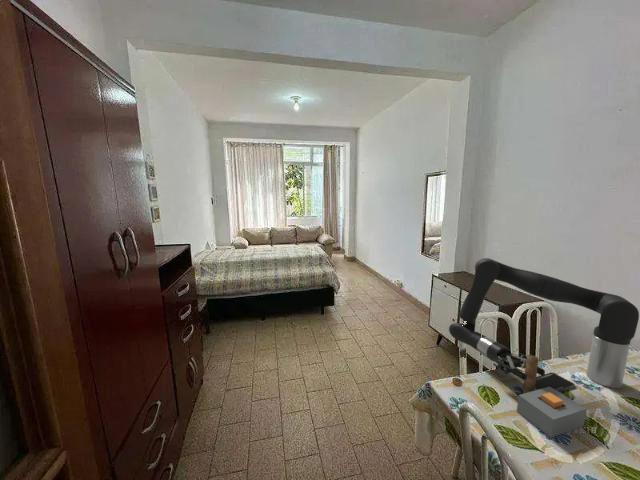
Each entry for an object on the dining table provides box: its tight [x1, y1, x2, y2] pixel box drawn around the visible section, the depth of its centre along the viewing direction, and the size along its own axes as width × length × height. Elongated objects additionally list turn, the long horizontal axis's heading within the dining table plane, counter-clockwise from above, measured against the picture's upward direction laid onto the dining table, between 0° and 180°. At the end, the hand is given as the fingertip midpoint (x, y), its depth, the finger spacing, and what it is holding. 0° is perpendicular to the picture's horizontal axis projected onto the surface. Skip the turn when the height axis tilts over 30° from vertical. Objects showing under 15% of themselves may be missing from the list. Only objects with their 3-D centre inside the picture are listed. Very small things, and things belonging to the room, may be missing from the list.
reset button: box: [541, 392, 563, 409], centre depth 82 cm, size 4×4×4 cm
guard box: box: [516, 387, 587, 439], centre depth 82 cm, size 14×10×6 cm
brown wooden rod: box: [521, 354, 539, 394], centre depth 92 cm, size 3×3×14 cm
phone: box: [535, 372, 576, 393], centre depth 98 cm, size 8×1×15 cm
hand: (535, 375), depth 91 cm, fingers open, 8 cm apart
